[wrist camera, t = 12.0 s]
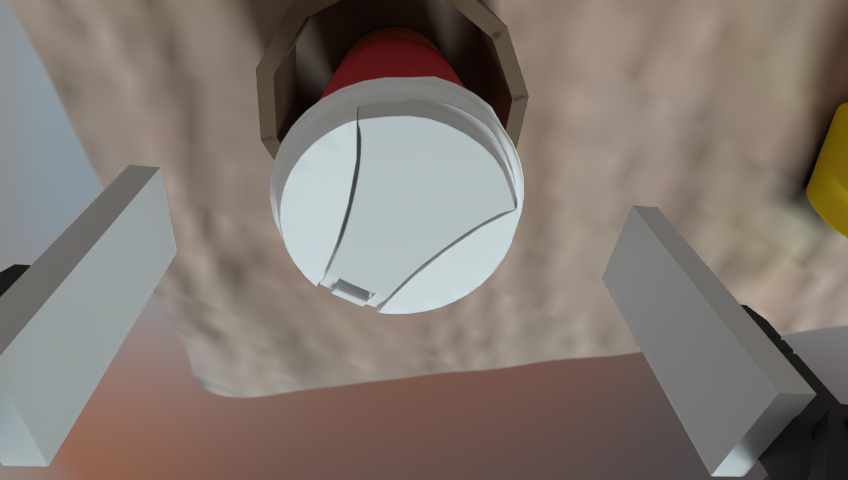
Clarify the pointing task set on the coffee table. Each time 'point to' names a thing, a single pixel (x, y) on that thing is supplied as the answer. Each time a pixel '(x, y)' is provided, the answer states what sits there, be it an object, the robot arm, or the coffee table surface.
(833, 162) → the figure statuette
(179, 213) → the coffee table surface
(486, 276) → the coffee cup
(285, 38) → the ring
